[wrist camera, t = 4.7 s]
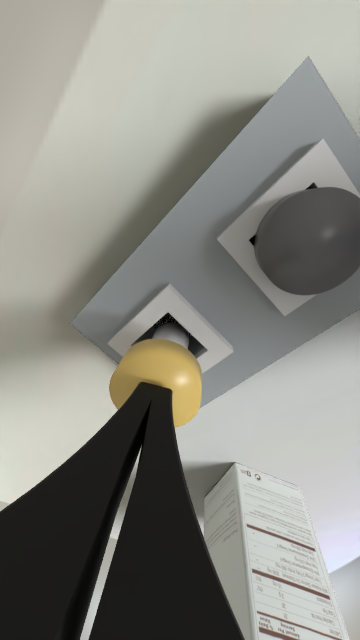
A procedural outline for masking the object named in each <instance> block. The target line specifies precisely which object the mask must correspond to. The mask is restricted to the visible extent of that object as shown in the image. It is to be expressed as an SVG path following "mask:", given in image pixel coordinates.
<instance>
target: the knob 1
mask: <svg viewBox="0 0 360 640" xmlns="http://www.w3.org/2000/svg"><path fill="white" fill-rule="evenodd" d="M188 345H189V336H188V333H187V332H186V330H185V329H184V328H183V327H181V326H180V325H178V324H174V323H165V324H162V325H161V326H159V327H158V328H157V329H156V330H155V332H154V335H153V337H152V339H147V340H143V341H141V342H138V343H136V344H134V345H133V346H132V347H130V348H129V349H128V350H127V352H126V353H125V355H124V356H123V358H122V360H121V361H120V363H119V365H118V367H117V368H116V370H115V372H114V374H113V376H112V378H111V380H110V386H109V390H110V396H111V399H112V401H113V403H114V405H115V406H116V408H117V409H118V410H119V409H120V408H121V406H122V405H123V404H124V403H125V402H126V400H127V399H128V398H129V397H130V395H131V394H132V393H133V391H134V390H135V388H136V387H137V385H138V384H139V383H140V382H146V383H150V384H154V385H158V386H162V387H166V388H170V389H171V390H172V391H173V394H172V408H173V420H174V427H175V428H176V427H179V426H182V425H184V424H186V423H187V422H189V421H190V420H191V419H192V418H193V417H194V416H195V415H196V414H197V412H198V410H199V408H200V404H201V390H202V370H201V367H200V364H199V362H198V360H197V359H196V357H195V356H194V355H193V354H192V353H191V352H190V351H189V350H188Z"/></svg>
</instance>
